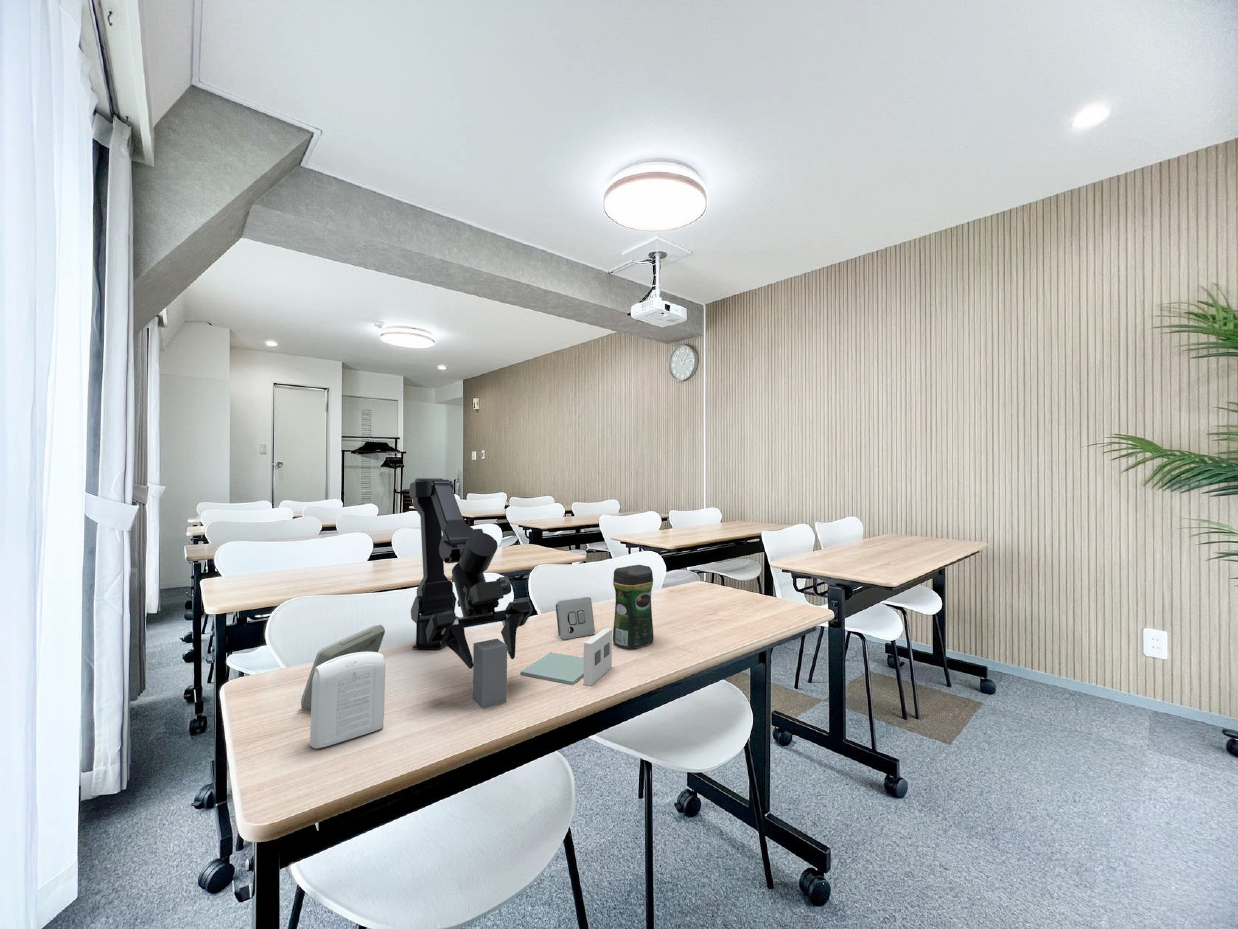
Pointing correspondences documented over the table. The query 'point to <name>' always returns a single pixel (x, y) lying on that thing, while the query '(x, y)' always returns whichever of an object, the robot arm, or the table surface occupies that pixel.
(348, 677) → the photo printer
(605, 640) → the outlet plate
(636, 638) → the coffee jar
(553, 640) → the table surface
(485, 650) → the block
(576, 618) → the electrical switch
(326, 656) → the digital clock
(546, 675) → the mat
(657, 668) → the table surface
